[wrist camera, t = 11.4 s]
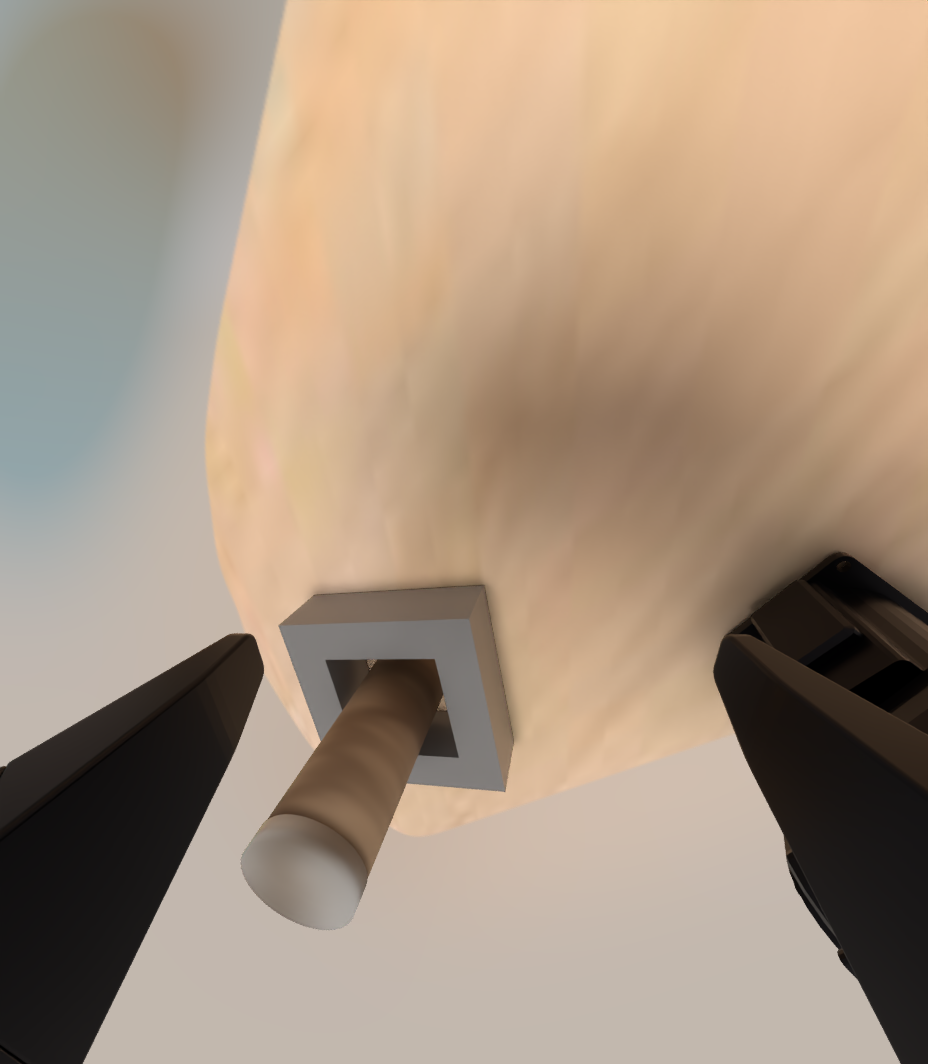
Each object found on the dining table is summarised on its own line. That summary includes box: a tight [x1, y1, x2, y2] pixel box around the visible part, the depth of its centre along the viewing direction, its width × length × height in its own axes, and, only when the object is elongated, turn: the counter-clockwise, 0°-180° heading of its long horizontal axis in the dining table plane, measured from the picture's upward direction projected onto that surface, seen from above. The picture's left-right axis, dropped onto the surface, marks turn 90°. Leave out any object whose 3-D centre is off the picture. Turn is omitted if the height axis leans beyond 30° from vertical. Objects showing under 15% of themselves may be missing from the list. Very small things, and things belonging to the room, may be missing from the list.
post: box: [241, 659, 443, 930], centre depth 21 cm, size 5×5×12 cm
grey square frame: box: [279, 585, 514, 792], centre depth 25 cm, size 11×11×4 cm
